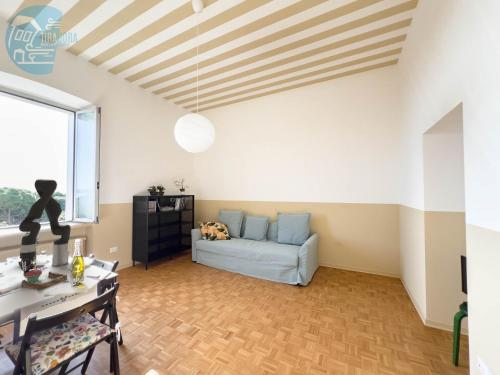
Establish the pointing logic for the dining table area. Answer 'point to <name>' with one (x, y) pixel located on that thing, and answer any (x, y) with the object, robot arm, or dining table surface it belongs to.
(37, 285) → the walnut corral
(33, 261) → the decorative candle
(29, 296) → the dining table surface
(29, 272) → the cupcake
